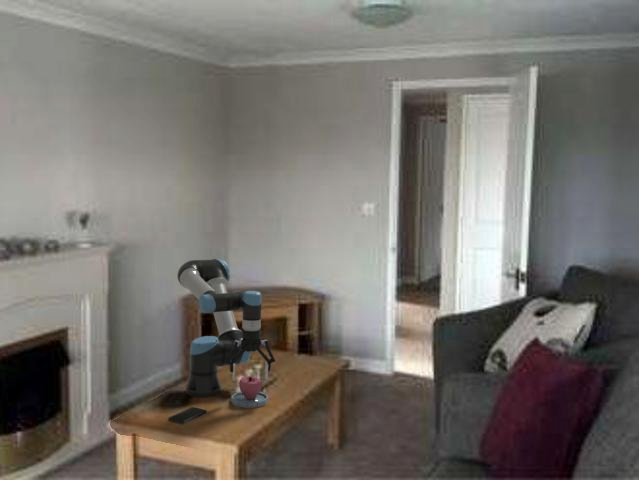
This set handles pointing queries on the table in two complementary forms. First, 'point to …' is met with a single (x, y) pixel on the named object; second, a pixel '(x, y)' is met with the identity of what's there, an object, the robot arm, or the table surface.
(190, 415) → the phone
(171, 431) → the table surface
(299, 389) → the table surface
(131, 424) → the table surface
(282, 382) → the table surface
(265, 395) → the dish
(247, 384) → the apple
